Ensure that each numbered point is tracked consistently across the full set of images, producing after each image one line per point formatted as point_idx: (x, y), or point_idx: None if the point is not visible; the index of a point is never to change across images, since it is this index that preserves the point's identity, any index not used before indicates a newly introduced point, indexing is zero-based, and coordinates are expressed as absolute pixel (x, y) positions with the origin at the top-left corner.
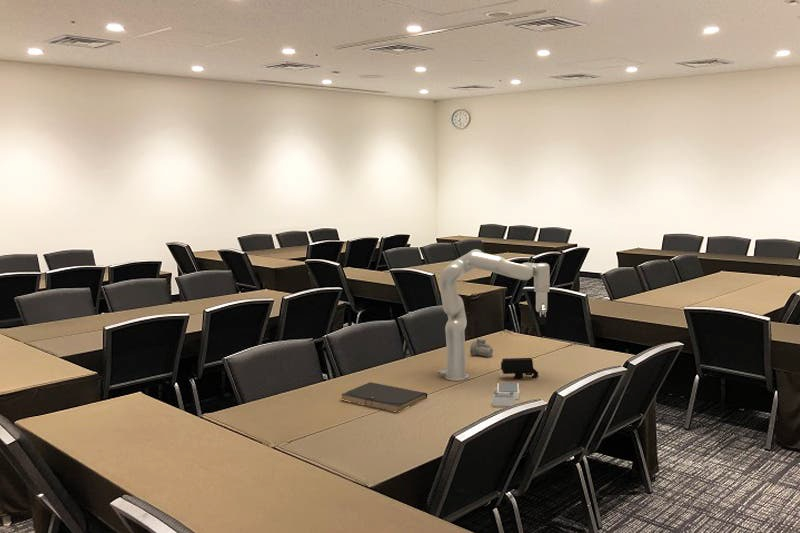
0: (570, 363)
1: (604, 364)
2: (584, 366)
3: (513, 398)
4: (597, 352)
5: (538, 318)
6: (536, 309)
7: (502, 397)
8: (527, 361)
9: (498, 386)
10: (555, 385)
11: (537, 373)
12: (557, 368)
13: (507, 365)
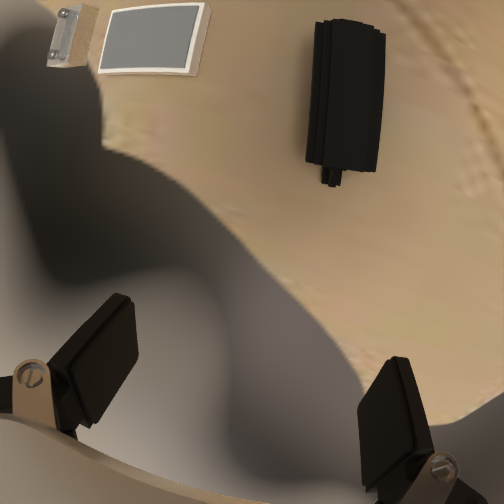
0: (437, 334)
1: None
2: None
3: (48, 62)
4: (469, 401)
5: (393, 373)
6: (96, 498)
7: (54, 33)
8: (324, 138)
9: (167, 6)
10: (224, 217)
11: (328, 182)
12: (412, 285)
13: (315, 39)
